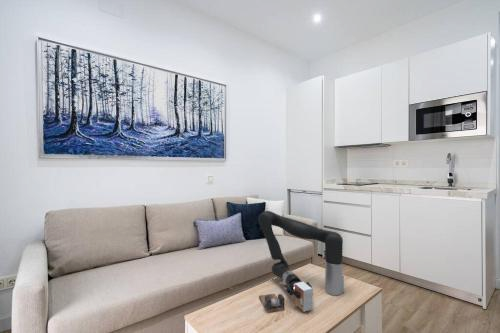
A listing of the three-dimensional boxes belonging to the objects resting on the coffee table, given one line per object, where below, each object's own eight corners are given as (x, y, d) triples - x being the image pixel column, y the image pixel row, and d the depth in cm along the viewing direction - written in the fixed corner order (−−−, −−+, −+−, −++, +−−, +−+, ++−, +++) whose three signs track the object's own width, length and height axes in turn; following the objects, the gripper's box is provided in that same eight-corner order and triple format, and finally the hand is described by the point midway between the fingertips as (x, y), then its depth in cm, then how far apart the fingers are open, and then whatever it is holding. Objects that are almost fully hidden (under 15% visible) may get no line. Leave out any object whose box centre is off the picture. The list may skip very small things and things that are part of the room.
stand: (274, 295, 134) (274, 284, 134) (284, 310, 120) (284, 298, 120) (259, 297, 132) (259, 286, 132) (267, 313, 118) (267, 300, 118)
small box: (294, 303, 125) (294, 283, 124) (303, 300, 127) (303, 280, 127) (303, 312, 117) (303, 290, 117) (312, 309, 119) (312, 288, 119)
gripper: (279, 275, 134) (292, 290, 118) (303, 272, 138) (318, 286, 121) (279, 288, 134) (292, 305, 118) (303, 285, 138) (318, 301, 121)
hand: (305, 295), depth 120 cm, fingers closed on small box, 6 cm apart
